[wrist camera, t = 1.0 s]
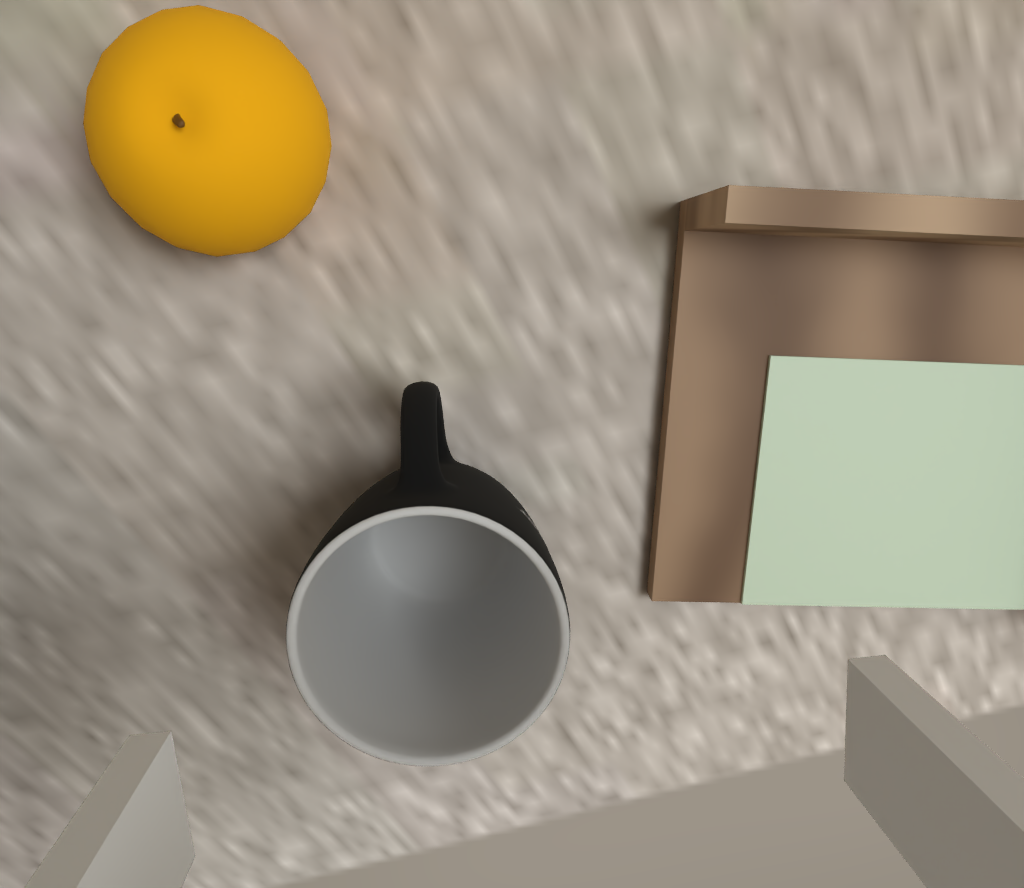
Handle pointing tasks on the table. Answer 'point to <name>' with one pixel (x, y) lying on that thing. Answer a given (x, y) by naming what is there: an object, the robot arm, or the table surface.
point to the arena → (807, 335)
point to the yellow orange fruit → (207, 131)
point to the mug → (429, 610)
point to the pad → (888, 485)
